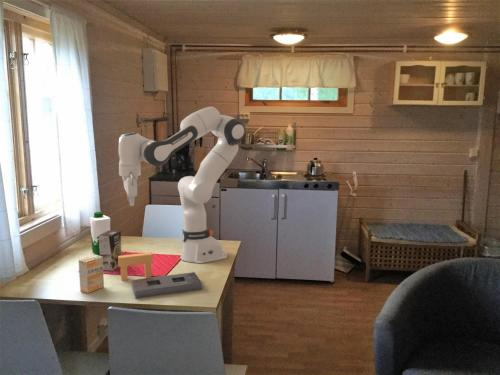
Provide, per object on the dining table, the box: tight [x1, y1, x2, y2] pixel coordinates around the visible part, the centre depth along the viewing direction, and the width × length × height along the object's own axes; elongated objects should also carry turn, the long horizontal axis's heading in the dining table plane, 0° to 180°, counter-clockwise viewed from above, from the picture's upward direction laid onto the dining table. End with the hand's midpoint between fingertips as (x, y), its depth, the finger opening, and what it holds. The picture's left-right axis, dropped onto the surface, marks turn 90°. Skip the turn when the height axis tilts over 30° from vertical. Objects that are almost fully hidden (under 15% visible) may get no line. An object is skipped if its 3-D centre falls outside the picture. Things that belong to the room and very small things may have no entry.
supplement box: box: [78, 254, 105, 295], centre depth 183 cm, size 8×5×13 cm, turn 148°
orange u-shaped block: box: [118, 252, 154, 282], centre depth 196 cm, size 14×3×10 cm, turn 110°
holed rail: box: [131, 271, 203, 300], centre depth 185 cm, size 26×12×3 cm, turn 110°
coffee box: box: [99, 230, 123, 272], centre depth 208 cm, size 9×6×16 cm
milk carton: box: [89, 211, 111, 256], centre depth 228 cm, size 9×9×20 cm
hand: (130, 203), depth 196 cm, fingers open, 8 cm apart
